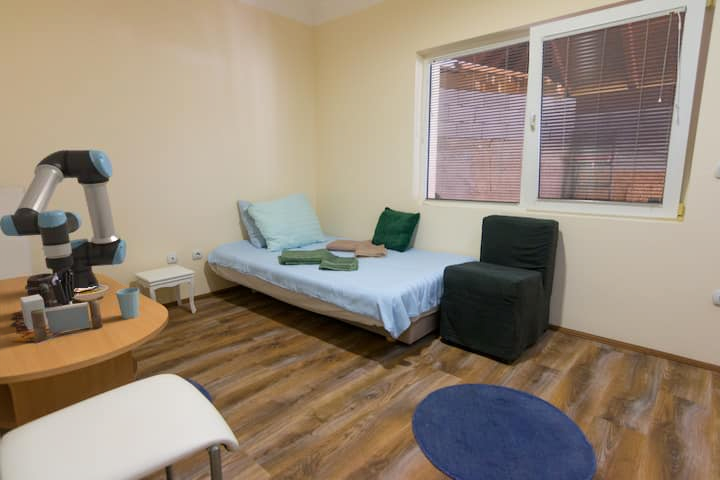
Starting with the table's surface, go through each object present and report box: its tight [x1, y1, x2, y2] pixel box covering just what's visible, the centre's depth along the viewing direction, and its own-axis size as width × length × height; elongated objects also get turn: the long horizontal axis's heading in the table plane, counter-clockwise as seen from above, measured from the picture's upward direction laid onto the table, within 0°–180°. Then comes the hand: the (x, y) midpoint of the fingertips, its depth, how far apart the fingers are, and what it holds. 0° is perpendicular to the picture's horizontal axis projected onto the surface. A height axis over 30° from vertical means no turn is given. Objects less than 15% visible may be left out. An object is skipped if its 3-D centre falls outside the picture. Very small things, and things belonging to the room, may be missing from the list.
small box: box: [19, 294, 48, 331], centre depth 142 cm, size 8×6×10 cm
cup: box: [115, 287, 140, 320], centre depth 150 cm, size 8×8×10 cm
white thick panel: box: [45, 301, 91, 334], centre depth 136 cm, size 12×2×9 cm, turn 119°
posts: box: [31, 299, 103, 343], centre depth 135 cm, size 19×3×10 cm, turn 127°
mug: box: [24, 272, 62, 317], centre depth 152 cm, size 16×12×15 cm
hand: (69, 319), depth 139 cm, fingers closed
